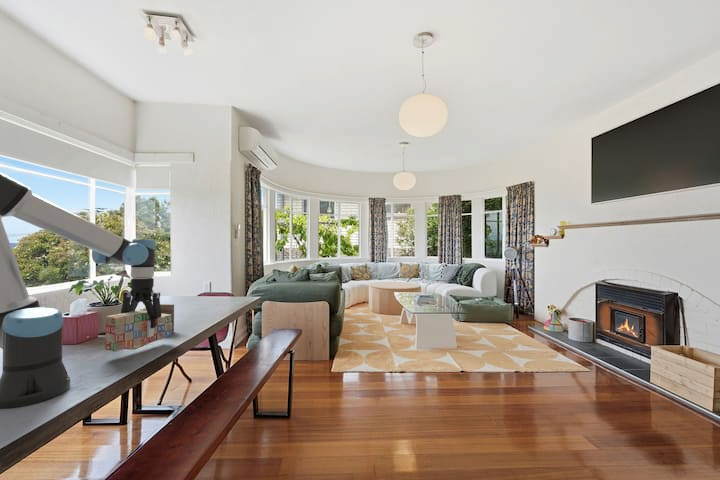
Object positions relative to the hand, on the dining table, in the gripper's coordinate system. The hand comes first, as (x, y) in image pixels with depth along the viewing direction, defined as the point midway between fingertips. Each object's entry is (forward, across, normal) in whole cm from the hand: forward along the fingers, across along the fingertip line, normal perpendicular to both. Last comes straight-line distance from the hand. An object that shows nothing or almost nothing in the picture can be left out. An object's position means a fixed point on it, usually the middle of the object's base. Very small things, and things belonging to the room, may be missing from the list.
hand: (140, 336), depth 123 cm
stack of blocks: (+3, 0, 0) cm, 3 cm away
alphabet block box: (+6, +10, -19) cm, 22 cm away
